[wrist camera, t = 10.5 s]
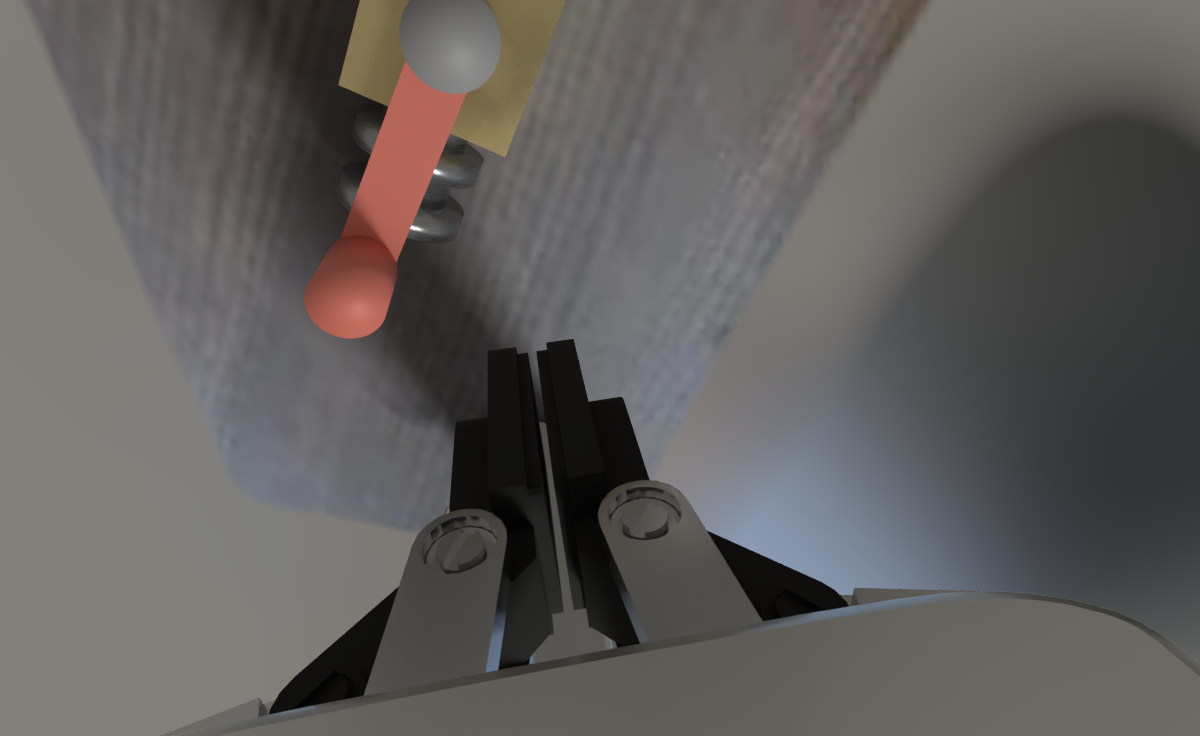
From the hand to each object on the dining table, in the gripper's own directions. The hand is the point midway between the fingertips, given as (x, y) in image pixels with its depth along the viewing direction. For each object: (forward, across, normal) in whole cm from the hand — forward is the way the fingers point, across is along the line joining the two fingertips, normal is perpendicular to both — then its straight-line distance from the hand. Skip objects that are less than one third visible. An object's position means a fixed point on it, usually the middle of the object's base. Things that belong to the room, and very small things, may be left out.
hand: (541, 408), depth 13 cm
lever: (+18, +4, -1) cm, 18 cm away
